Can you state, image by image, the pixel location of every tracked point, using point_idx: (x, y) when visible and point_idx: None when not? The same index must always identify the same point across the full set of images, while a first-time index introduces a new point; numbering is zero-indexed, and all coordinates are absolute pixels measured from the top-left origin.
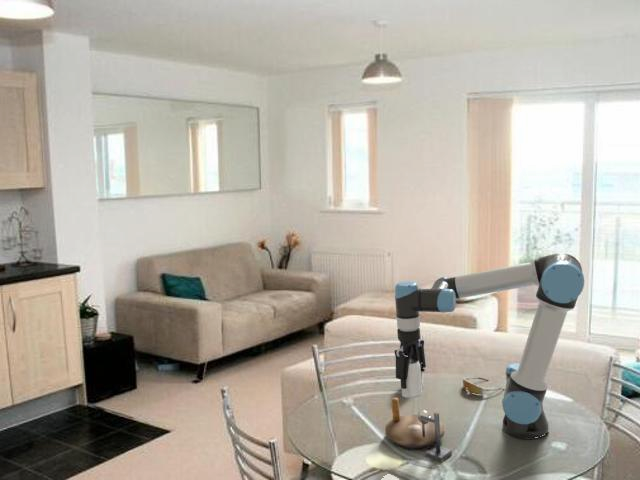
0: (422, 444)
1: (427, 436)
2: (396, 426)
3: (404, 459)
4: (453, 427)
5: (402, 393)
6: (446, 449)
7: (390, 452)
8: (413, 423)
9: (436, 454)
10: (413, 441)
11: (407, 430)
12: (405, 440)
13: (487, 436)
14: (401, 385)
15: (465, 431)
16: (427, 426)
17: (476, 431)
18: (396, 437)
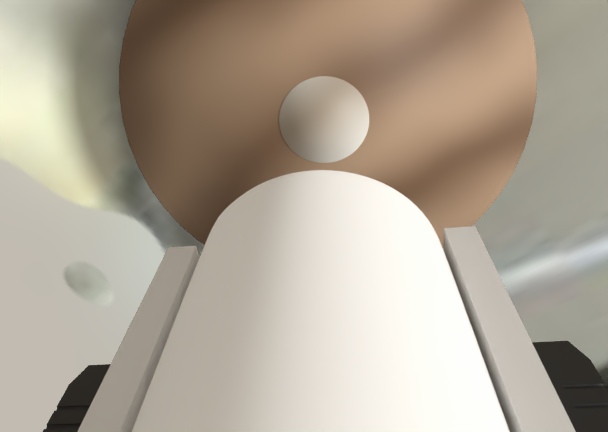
0: None
1: None
2: (247, 7)
3: (123, 200)
4: (572, 176)
5: (159, 277)
6: None
7: (106, 100)
8: (369, 74)
9: None
10: (188, 228)
11: (260, 114)
12: (160, 189)
13: (556, 335)
14: (60, 417)
15: (557, 245)
16: (391, 174)
17: (583, 281)
18: (140, 124)
